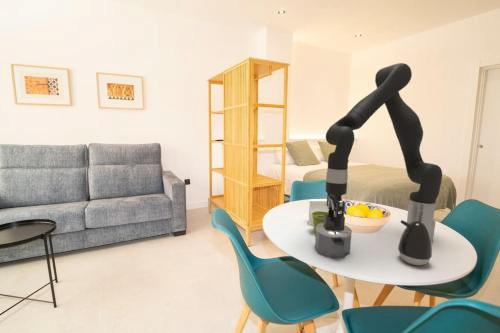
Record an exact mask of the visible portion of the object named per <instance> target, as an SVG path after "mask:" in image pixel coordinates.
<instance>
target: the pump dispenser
mask: <svg viewBox="0 0 500 333" xmlns="http://www.w3.org/2000/svg"><path fill="white" fill-rule="evenodd" d="M400 223H401V224H402V225H403V226H405V229H404V231H403V232H402V234H401V236H400V239H399V243H398V247H397V250H398V252H399V255H400V257H401V259H402V260H403V261H404V262H406V263H408V264H409V265H412V266H423V265H426V264H428V263H429V261H430V259H431V258H432V255H433V247H432V246H433V245H432V243H431V238H430V235H429V232H428V229H427V227H426V226H425V225H424V224H423V223H422V222H419V221H413V222H411V223H410V224H409V223H407V221H405V220H403V219H402V220H400Z"/></svg>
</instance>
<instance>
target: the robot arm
mask: <svg viewBox="0 0 500 333" xmlns="http://www.w3.org/2000/svg"><path fill="white" fill-rule="evenodd" d="M412 74H413V72H412V69H411V67H410V66H409V65H408V64H407V63H403V62H399V63H398V62H397V63H394V64H392V65H388V66H385V67H383V68H380V69H378V70H377V72H376V74H375V77H374V78H375V80H374V82H375V87H376V89H375V90H373V91H372V92H371V93H369V94H368V95H366V96H364V97H363V98H362V99H360V100H359V101H358V102H357V103H356V104H355V105H354V106H353V107H352V108H351V109H350V110H349V111H348V112H347V113H346V115H344V116H343V117H342V118H340V119H338V120H337V121H335V122H334V123H333V124H332V125H330V127H328V129H327V131H326V133H325V141H326V142H327V143H328V144H329V145H330V146H331V145H332V146H335V149H334V151H333V152H330V153H329V154H328V156H327V157H328V158H327V170H326V174H325V175H326V176H325V177H326V179H325V193H326V194H327V195H326V196H327V197H326V200H327V206H328V215H334V226H335V227H340V225H341V217H345V208H346V207H345V205H346V203H345V200H343V199H342V196H344V195H346V194H347V190H348V178H349V177H348V176H349V175H348V171H349V170H348V168H349V158H350V155H351V152H352V150H353V149H352V148H353V146H354V143H355V133H354V131H356V130H359V129H361V128H362V127H363V125H365V123H367V122H368V120H369V119H370V118H371V117H372V116H373V115H374V114H375V113H376V112H377V111H378V110H379V109H380V108H381V107H382V106H383V105H385V107H386V110H387V113H388V116H389V118H390V120H391V121H390V122H391V123H392V127H393V130H394V133H395V136H396V138H397V140H398V144H399V146H400V150H401V152H402V157H403V160H404V164H405V168H406V174H407V176H408V179H409V180H410V181H411V182H413V183H415V184H419V188H418V191H412V192H410V194H409V200H408V209H407V217H406V218H407V219H406V222H407V223H409V224H410V223H411V222H413V221H419V222H422V223H423V224H424V225H425V226H426V227H427V229H428V232H429V235H430V238H431V244H432V243H433V242H434V236H435V228H436V220H435V219H434V217H435V211H436V210H435V208H436V203H437V202H436V201H437V198H438V197H439V194H440V191H441V190H440V189H441V184H442V180H443V171H442V168H441V166H439V164H434V163H431V162H425V161H424V159H423V158H422V157H423V156H422V154H421V151H420V150H421V148H420V147H421V144H422V141H423V137H424V130H423V125H422V123H421V119H420V118H419V116H418V114H417V113H416V112H415V110H413V109H412V108H411V107H410V105H408V104H407V103H406V102H405V101H404V100H403V99H402V97H401V94H400V91H401V90H403V89H404V88H405V87H406V86H407V85H408V84H409V83H410V82H411V79H412Z"/></svg>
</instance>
